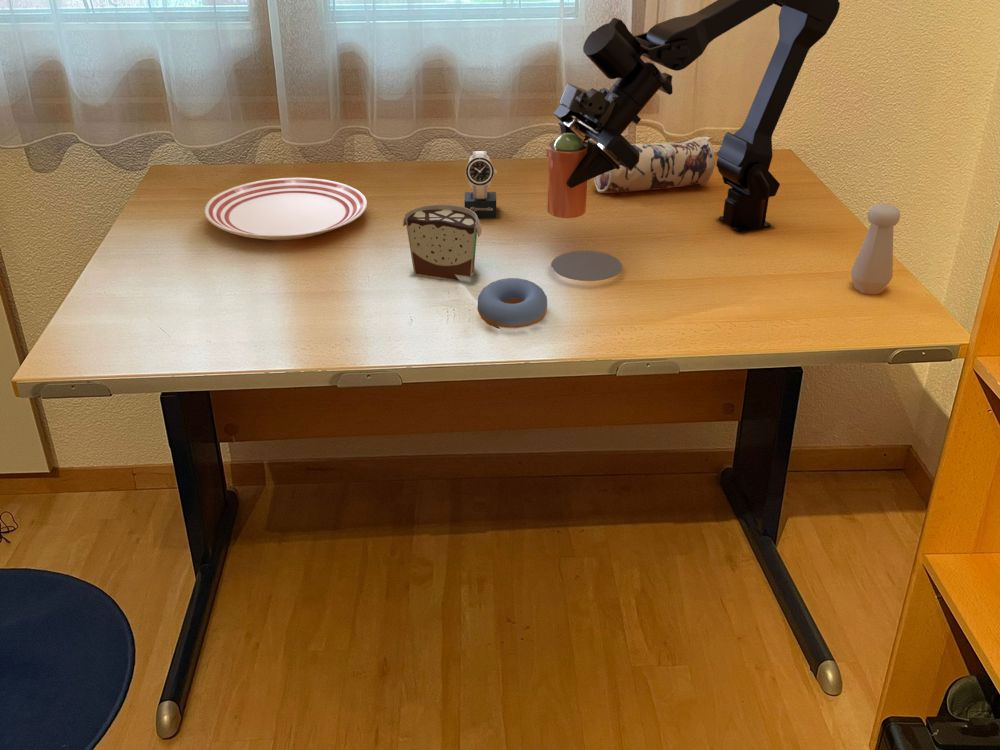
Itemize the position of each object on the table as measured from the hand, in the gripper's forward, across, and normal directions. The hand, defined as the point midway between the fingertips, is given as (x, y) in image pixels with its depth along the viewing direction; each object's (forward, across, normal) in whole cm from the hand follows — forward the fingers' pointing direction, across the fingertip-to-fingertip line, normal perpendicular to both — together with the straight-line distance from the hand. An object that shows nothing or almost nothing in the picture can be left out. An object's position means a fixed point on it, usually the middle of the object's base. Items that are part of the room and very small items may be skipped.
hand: (559, 179), depth 150 cm
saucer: (+8, +6, +11) cm, 15 cm away
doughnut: (+20, +16, -1) cm, 25 cm away
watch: (+13, -22, +6) cm, 26 cm away
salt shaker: (-17, +28, +37) cm, 49 cm away
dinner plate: (+35, -32, -16) cm, 50 cm away
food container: (+22, -2, -3) cm, 22 cm away
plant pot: (+3, 0, +5) cm, 6 cm away
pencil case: (-11, -21, +31) cm, 39 cm away
